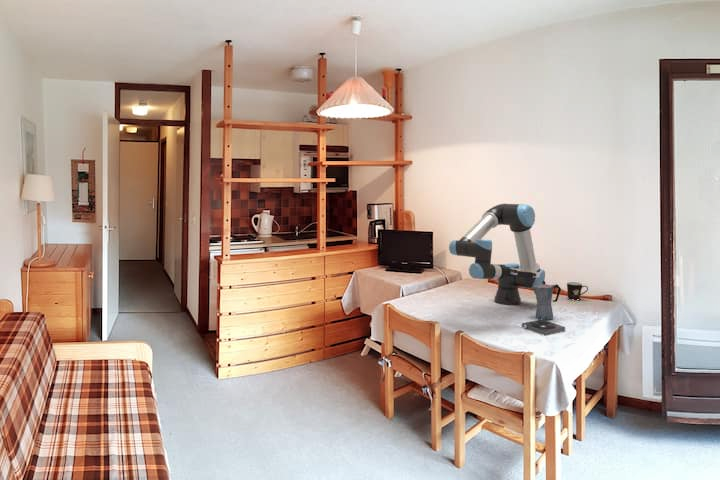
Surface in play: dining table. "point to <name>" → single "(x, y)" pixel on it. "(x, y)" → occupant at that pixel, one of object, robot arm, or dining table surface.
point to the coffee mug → (574, 290)
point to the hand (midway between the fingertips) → (529, 273)
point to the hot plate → (543, 327)
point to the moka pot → (545, 300)
